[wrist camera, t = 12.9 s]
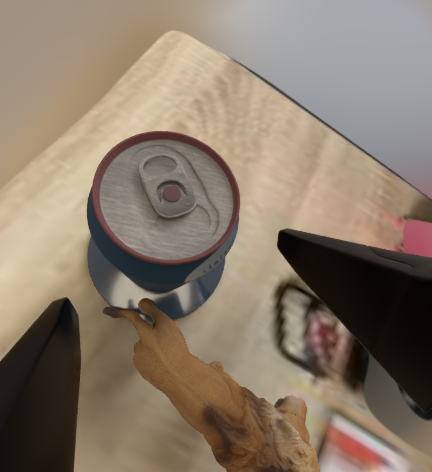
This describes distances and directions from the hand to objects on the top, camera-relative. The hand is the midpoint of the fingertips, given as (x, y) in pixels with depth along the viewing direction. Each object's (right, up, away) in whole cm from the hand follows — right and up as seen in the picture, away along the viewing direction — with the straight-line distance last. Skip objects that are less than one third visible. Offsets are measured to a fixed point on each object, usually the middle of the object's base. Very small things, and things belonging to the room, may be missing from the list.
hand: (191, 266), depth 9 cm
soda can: (-4, 0, +11) cm, 11 cm away
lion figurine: (-1, -9, +9) cm, 13 cm away
